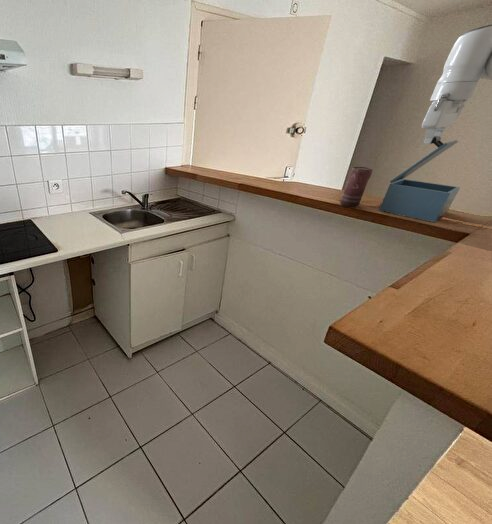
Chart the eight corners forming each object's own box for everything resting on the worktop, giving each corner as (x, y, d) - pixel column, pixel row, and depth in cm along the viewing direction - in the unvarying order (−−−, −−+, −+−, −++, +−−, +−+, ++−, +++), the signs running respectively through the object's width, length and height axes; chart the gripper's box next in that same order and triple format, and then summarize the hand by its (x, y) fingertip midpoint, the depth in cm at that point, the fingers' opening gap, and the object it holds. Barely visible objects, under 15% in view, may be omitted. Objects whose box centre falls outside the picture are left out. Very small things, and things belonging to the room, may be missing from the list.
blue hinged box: (445, 215, 99) (460, 187, 94) (434, 222, 92) (450, 193, 88) (391, 204, 110) (402, 178, 105) (378, 210, 104) (389, 183, 99)
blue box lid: (458, 141, 92) (445, 130, 93) (447, 144, 85) (433, 132, 87) (404, 178, 105) (393, 168, 106) (391, 183, 99) (380, 172, 100)
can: (359, 208, 106) (374, 170, 99) (339, 205, 109) (352, 168, 102) (358, 204, 110) (372, 167, 103) (339, 201, 113) (352, 165, 106)
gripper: (457, 92, 78) (433, 146, 85) (474, 93, 89) (451, 141, 95) (427, 94, 83) (407, 144, 90) (446, 94, 93) (427, 140, 100)
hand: (430, 142), depth 93 cm, fingers closed on blue box lid, 5 cm apart
